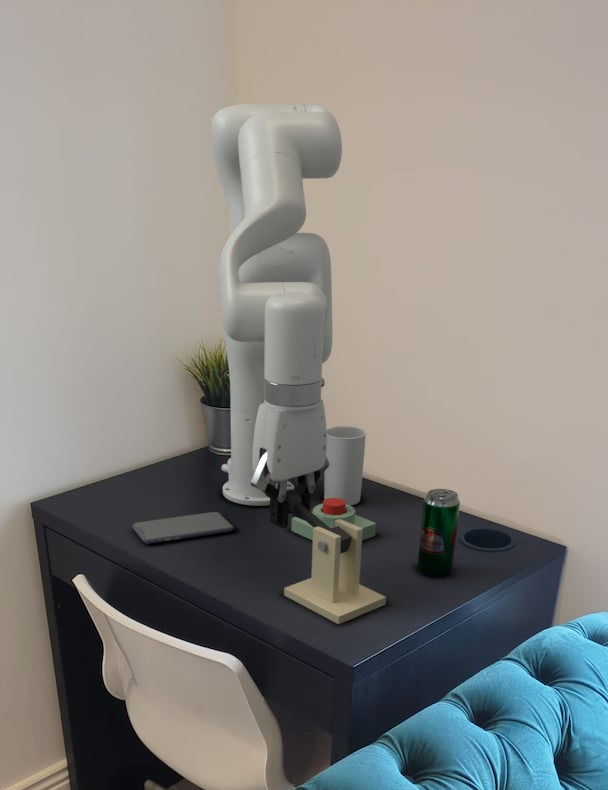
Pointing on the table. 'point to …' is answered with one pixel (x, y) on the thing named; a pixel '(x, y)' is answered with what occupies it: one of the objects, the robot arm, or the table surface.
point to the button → (334, 506)
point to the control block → (349, 516)
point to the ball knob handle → (314, 518)
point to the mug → (344, 463)
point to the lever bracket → (335, 578)
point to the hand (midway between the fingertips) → (289, 520)
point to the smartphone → (182, 527)
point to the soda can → (438, 532)
